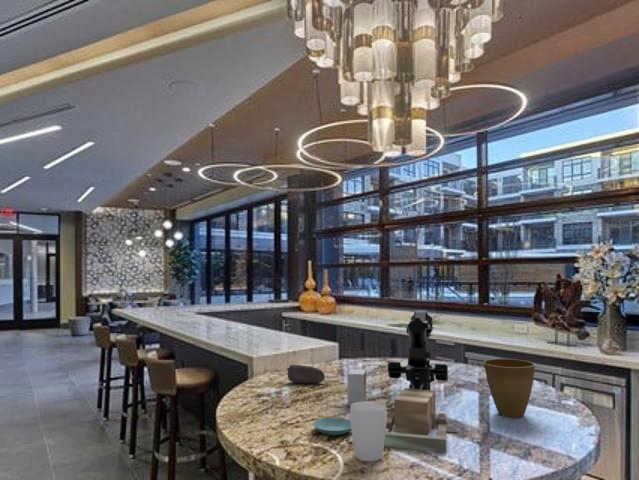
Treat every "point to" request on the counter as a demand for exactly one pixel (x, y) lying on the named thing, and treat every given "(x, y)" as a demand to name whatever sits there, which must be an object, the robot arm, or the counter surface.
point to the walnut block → (414, 411)
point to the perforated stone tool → (305, 374)
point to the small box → (356, 386)
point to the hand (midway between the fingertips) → (416, 394)
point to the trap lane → (418, 436)
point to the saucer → (333, 426)
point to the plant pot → (510, 385)
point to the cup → (368, 429)
